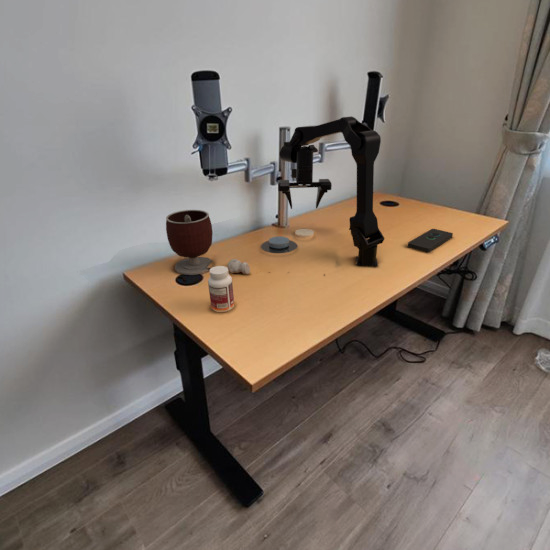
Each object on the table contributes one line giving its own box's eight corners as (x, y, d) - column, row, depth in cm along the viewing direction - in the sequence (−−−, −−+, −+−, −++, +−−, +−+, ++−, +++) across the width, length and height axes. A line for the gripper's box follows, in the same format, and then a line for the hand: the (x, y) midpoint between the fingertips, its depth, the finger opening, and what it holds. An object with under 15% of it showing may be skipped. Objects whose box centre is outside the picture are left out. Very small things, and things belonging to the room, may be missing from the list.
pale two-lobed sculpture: (226, 274, 117) (237, 264, 119) (242, 281, 112) (253, 271, 114) (221, 263, 114) (233, 254, 117) (237, 270, 109) (249, 260, 112)
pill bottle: (224, 298, 101) (220, 262, 96) (239, 306, 98) (236, 268, 92) (206, 307, 97) (201, 270, 92) (221, 315, 94) (217, 277, 88)
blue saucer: (287, 250, 127) (287, 244, 126) (267, 249, 128) (267, 243, 127) (290, 242, 133) (290, 236, 132) (270, 241, 134) (270, 235, 133)
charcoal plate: (295, 257, 124) (295, 254, 124) (257, 255, 126) (257, 252, 126) (299, 242, 136) (299, 239, 135) (264, 241, 138) (264, 238, 137)
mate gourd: (173, 260, 125) (163, 202, 115) (214, 255, 127) (207, 198, 118) (172, 281, 111) (161, 217, 102) (218, 275, 114) (211, 212, 105)
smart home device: (454, 232, 136) (429, 248, 124) (453, 237, 137) (428, 253, 125) (432, 227, 141) (406, 242, 129) (431, 232, 142) (406, 246, 130)
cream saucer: (313, 241, 137) (313, 235, 136) (294, 240, 138) (294, 235, 137) (314, 234, 143) (314, 229, 142) (296, 233, 144) (296, 228, 143)
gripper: (328, 160, 135) (326, 201, 142) (277, 161, 135) (278, 202, 142) (332, 166, 125) (330, 210, 132) (278, 167, 125) (278, 211, 132)
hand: (304, 208), depth 135 cm, fingers open, 9 cm apart
